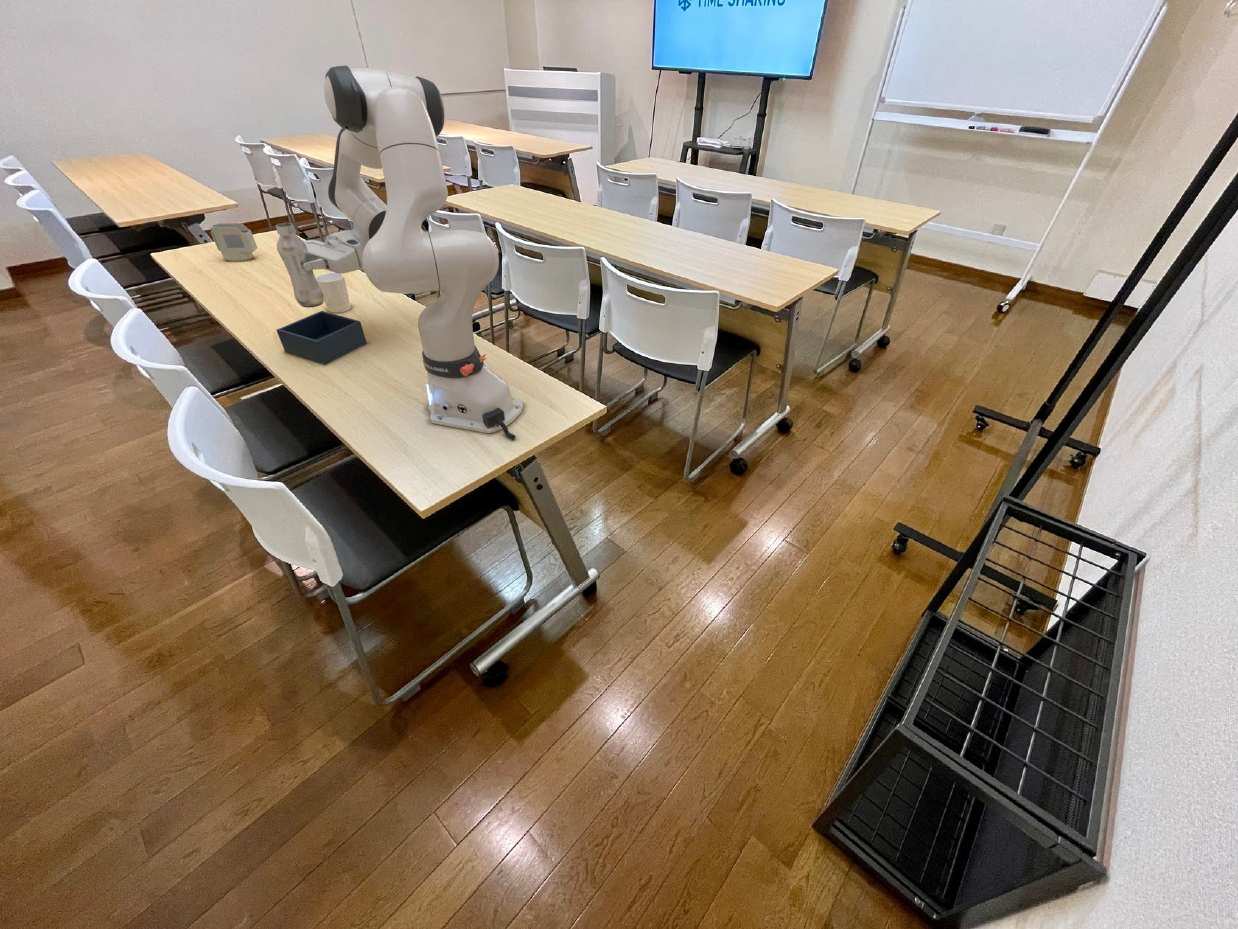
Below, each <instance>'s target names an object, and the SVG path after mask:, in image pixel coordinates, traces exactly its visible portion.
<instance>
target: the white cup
mask: <svg viewBox="0 0 1238 929" xmlns="http://www.w3.org/2000/svg"><path fill="white" fill-rule="evenodd" d="M315 278H316V280H317V283H318V285H319V286H320V288H321V290H322V292H323V294H324V304H325V306H326V309H327V312H329V313H333V314H339V313H343V312H348V311H349V310H351V308H352V306H351V302H350V297H349V296H350V295H349V292H348V286H347V283H346V278H345V276H344V273H335V272H327V273H321V274H319V275H317V276H315Z"/></svg>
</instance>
